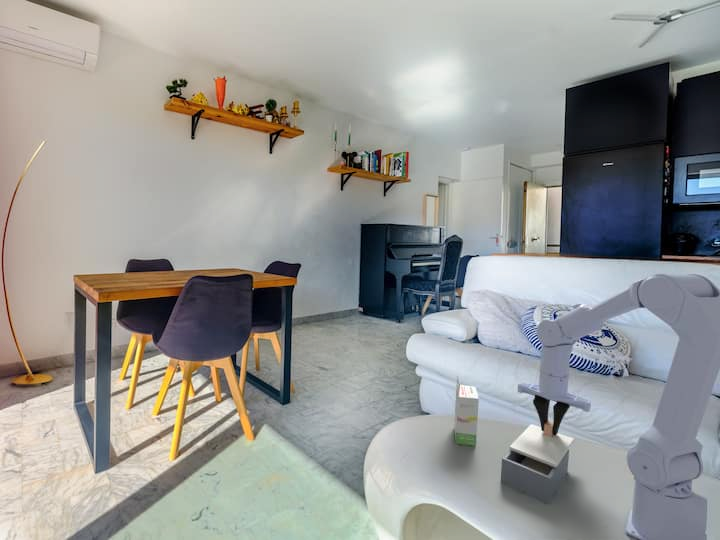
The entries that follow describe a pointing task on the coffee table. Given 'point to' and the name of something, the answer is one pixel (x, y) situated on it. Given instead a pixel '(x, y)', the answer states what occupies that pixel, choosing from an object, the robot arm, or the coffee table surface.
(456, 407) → the ink box
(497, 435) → the coffee table surface
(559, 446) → the lid
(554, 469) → the box
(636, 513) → the robot arm
